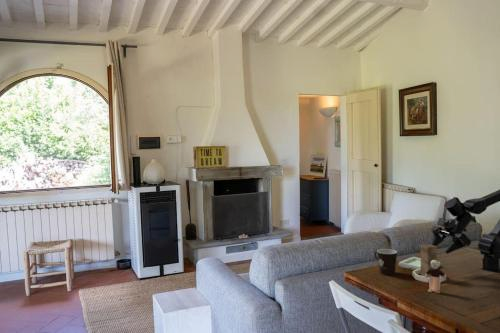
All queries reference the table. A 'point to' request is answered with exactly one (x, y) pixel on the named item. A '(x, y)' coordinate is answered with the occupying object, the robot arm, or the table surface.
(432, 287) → the grandmother figurine
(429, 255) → the walnut post
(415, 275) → the ring dish
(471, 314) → the table surface
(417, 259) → the tray
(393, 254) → the coffee mug
